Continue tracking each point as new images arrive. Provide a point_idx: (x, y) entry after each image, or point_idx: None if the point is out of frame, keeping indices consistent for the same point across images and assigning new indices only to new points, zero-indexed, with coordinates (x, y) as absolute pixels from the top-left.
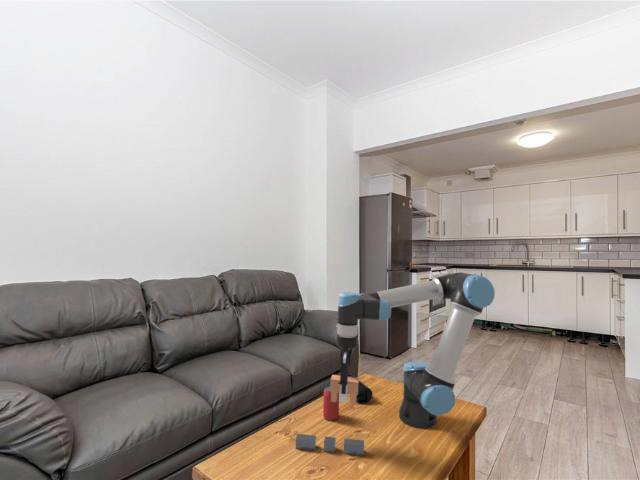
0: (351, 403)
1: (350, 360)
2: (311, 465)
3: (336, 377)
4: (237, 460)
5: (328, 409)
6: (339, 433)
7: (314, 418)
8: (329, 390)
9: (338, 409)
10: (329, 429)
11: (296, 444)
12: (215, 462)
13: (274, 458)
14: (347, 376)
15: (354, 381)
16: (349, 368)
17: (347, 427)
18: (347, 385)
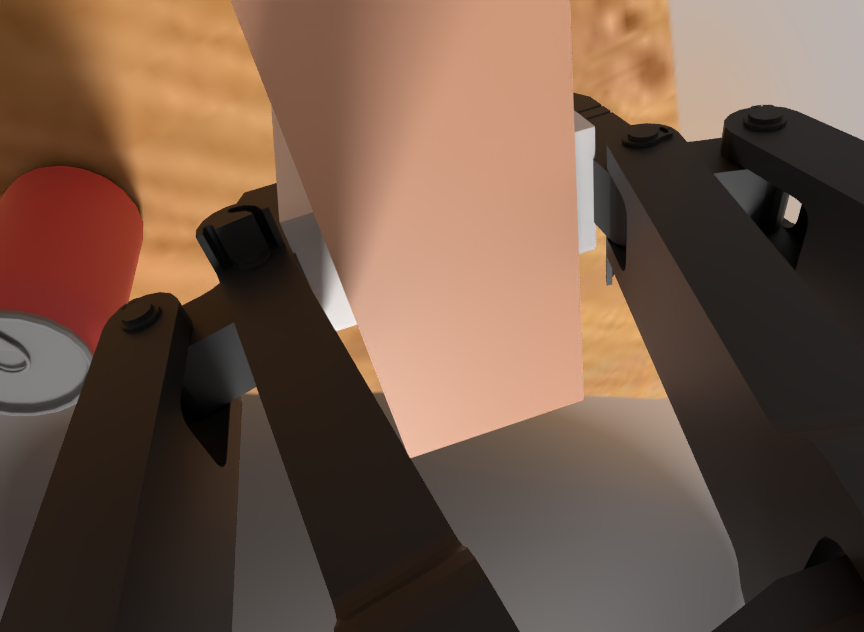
0: None
1: (492, 592)
2: (609, 91)
3: (484, 377)
4: (627, 351)
5: (130, 255)
6: (241, 68)
7: (181, 291)
8: (65, 362)
9: (33, 195)
10: (238, 155)
11: None
12: (646, 389)
13: (592, 261)
14: (738, 204)
15: (529, 19)
16: (131, 383)
17: (118, 40)
18: (588, 123)
